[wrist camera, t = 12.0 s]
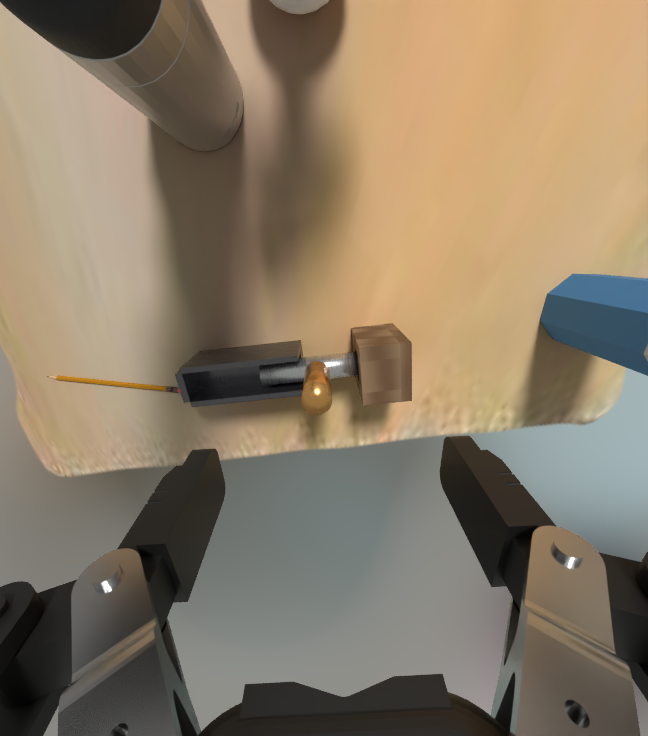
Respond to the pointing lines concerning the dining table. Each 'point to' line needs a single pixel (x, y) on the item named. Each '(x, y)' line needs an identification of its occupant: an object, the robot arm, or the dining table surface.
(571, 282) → the water bottle
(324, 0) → the flower vase
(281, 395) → the sleeve
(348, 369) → the tube
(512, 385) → the dining table surface
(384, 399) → the socket block
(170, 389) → the pencil
